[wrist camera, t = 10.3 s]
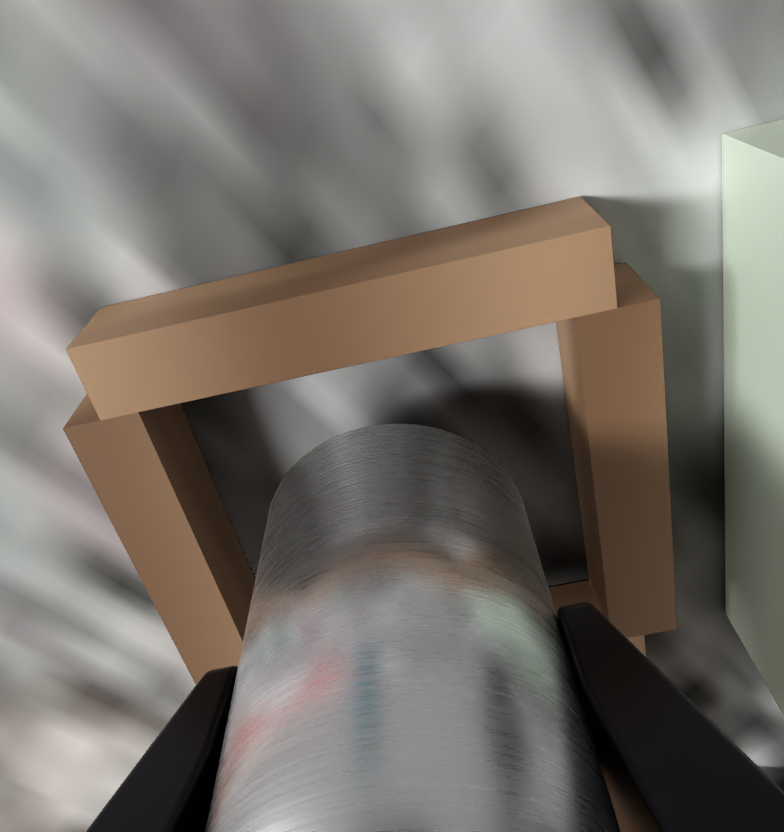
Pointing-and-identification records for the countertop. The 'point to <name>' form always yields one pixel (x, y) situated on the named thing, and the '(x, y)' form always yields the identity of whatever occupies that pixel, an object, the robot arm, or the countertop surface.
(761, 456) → the tray
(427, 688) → the cylinder
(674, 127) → the countertop surface
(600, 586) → the brown flat open-framed piece
